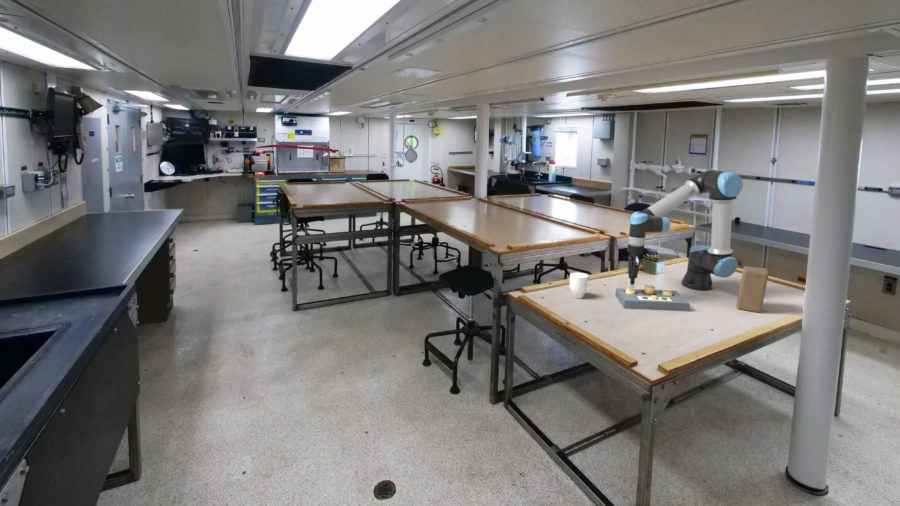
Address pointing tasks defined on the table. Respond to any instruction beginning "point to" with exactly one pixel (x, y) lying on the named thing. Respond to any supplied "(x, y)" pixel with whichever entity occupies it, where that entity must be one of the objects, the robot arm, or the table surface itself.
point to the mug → (578, 284)
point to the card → (654, 298)
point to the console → (634, 302)
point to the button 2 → (667, 293)
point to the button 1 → (630, 291)
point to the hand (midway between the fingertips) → (630, 289)
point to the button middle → (649, 290)
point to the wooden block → (752, 289)
